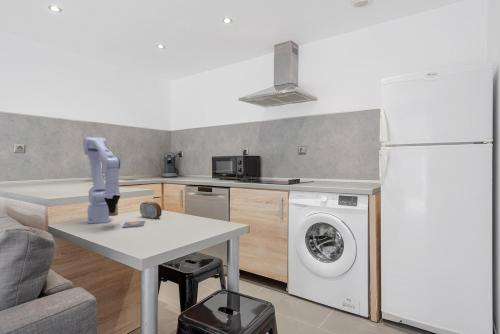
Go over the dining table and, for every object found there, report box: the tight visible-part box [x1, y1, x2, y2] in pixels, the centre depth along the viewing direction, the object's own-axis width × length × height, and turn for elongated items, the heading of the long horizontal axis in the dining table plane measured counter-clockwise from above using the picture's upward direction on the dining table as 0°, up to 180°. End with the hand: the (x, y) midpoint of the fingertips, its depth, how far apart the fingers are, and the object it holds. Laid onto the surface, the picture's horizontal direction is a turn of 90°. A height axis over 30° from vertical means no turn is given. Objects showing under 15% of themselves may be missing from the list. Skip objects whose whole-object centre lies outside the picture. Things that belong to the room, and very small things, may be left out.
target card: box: [122, 220, 146, 229], centre depth 134 cm, size 9×10×1 cm
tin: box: [139, 201, 162, 220], centre depth 151 cm, size 15×3×8 cm, turn 58°
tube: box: [108, 203, 119, 217], centre depth 132 cm, size 4×4×5 cm
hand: (113, 211), depth 132 cm, fingers closed on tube, 4 cm apart
